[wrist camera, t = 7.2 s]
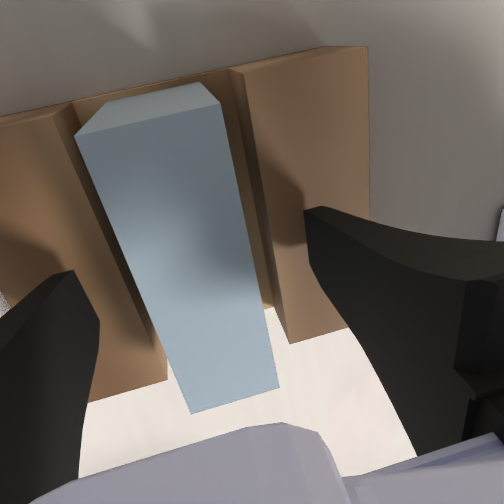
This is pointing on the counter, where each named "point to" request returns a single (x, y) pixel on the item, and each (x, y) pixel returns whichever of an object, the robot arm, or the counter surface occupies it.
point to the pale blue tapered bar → (184, 237)
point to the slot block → (249, 185)
